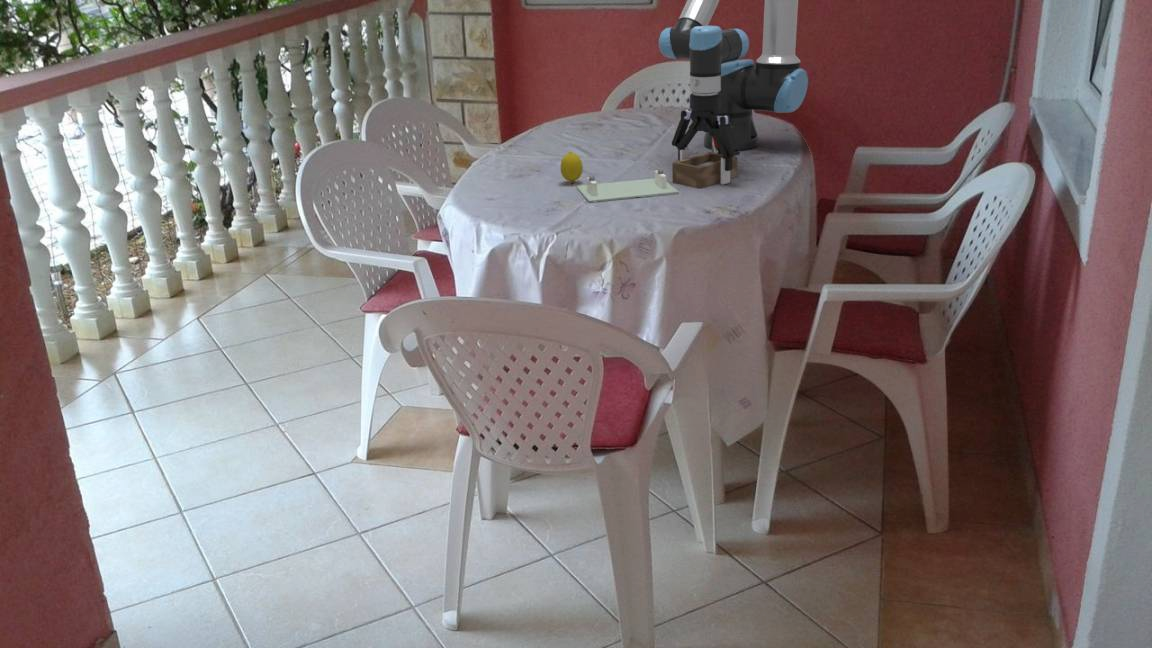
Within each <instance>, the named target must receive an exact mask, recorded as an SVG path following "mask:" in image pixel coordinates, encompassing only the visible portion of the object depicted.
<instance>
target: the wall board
mask: <svg viewBox="0 0 1152 648" xmlns="http://www.w3.org/2000/svg"><path fill="white" fill-rule="evenodd" d="M667 180H668V179H667V175H666V174H665V173H664V169H657V170H654V178H645V179H636V180H625V181H615V182H604V183H598V182H597V181H596V178H595V176H593V175H591V176H588V177H586V184H585V185H584V184H583V185H576V186H575V187H576V189H577V190H578V191H580V192H581V193H582V194H583V195H582V194H581V195H582V196H583V197H584V199H585V198H586V199H587V200H588V201H589V202H593V203H595V202H594V201H602V202H608V201H607V200H612V201H617V200H616V199H622V200H626V199H625V198H632V199H636V198H635V197H641V198H648V197H647V196H651V197H659V196H660V195H661V196H669V194H670V195H677V194H679V192H680V191H679V190H677V189H676V188H675V187H674V186H672V185H671V183H669V182H668V181H667ZM580 192H579V193H580ZM586 199H585V200H586ZM587 200H586V201H587ZM588 201H587V202H588ZM589 202H588V203H589Z"/></svg>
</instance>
